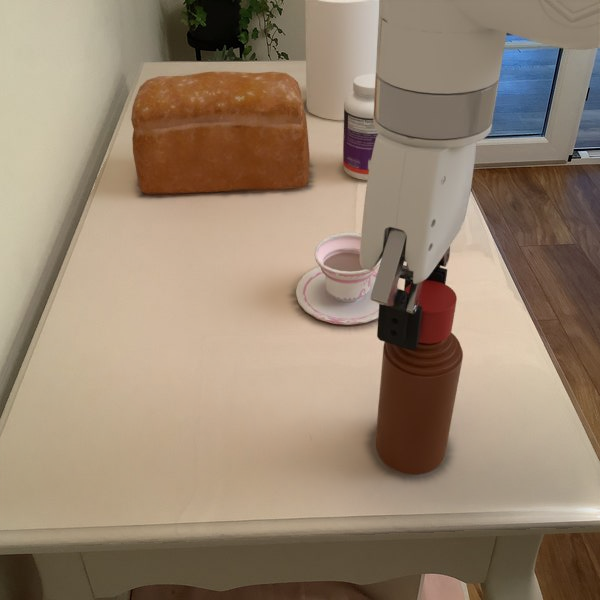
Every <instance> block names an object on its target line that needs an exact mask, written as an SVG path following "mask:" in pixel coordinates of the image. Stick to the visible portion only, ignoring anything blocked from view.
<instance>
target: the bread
mask: <svg viewBox="0 0 600 600" xmlns="http://www.w3.org/2000/svg"><path fill="white" fill-rule="evenodd" d="M300 88H301V87H300V85H299V82H298V80H296V79H295V78H294V77H293V76H292V75H290V74H289V73H287V72H280V71H263V72H244V71H243V72H242V71H204V72H197V73H191V74H185V75H162V76H157V77H153V78H150V79H146V80H145V82H144V83H142V84H141V85H140V86H139V89H138V91H137V94H136V95H135V98H134V101H133V105H132V108H131V110H132V111H131V117H130V121H131V125H132V128H133V131H132V137H131V138H132V139H131V140H132V141H131V142H132V155H133V161H134V166H135V172H136V177H137V178H136V179H137V183H138V188H139V190H140V191H141V192H142V193H143V194H146V195H157V194H158V195H160V194H161V195H162V194H163V195H165V194H166V195H169V194H172V195H173V194H191V193H192V194H193V193H194V194H195V193H218V192H219V193H220V192H231V191H242V190H243V191H244V190H246V191H247V190H249V191H252V190H255V191H257V190H259V191H261V190H281V189H294V188H303V187H305V186H307V185H309V183H310V145H309V144H310V143H309V132H308V121H307V115H306V111H305V108H304V100H303V98H302V91H301V89H300Z"/></svg>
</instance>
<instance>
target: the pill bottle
mask: <svg viewBox="0 0 600 600" xmlns="http://www.w3.org/2000/svg"><path fill="white" fill-rule="evenodd" d="M375 78H376V74H366V75H361V76H358V77H356V78H355V79H354V81H353V91H354V92H353V93H351V94H350V95H349V96H348V97H347V98H346V100H345V102H344V120H343V136H342V137H343V138H342V139H343V140H342V141H343V142H342V167H343V171H345V173H346V174H347V175H349V176H350V177H352V178H355V179H358V180H364V181H367V180H368V174H369V168H370V163H371V158H372V153H373V148H374V144H375V140H376V137H377V135H378V133H379V132H378V131H377V130H376V129H375V127H374V125H373V116H374V98H375Z"/></svg>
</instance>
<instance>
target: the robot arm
mask: <svg viewBox="0 0 600 600" xmlns="http://www.w3.org/2000/svg"><path fill="white" fill-rule="evenodd" d="M507 34H509V35H512V36H515V37H519V38H522V39H525V40H529V41H531V42H535V43H539V44H543V45H546V46H551V47H554V48H559V49H566V50H575V51H576V50H581V51H583V50H594V49H600V0H379V19H378V39H377V59H376V78H375V98H374V116H373V125H374V127H375V129H376V130H377V131H378V132H379V133H378V135H377V137H376V140H375V144H374V148H373V153H372V158H371V163H370V168H369V174H368V180H366V181H367V182H366V189H365V195H364V204H363V215H362V222H361V223H362V224H361V233H360V234H361V244H360V265H361V267H362V268H363V269H365V270H367V269H368V270H371V271H372V270H373V268H374V267H375V266H376V265H377V263H378V262H379V261H380V260H381V263H380V265H379V266H378V268H377V270H378V273H377V276H376V280H375V283H374V286H373V290H372V293H371V301H374V302H378V304H379V315H378V319H377V329H376V330H377V331H376V338H377V339H378V340H379V341H381V342H387V343H390V344H393V345H396V346H399V347H402V348H405V349H408V350H411V351H414V350H416V348H417V346H418V344H419V336H420V327H421V319H422V311H423V307H421V306H419V305H418V304H419V299H420V294H421V289H422V284H423V281H424V280H430V281H437V282H440V283H443V284H445V285H447V283H446V282H447V275H448V268H446V267H447V265H448V263H449V260H450V256H451V245H452V244H453V242H454V241H455V239H456V238H457V236H458V234H459V233H460V231H461V229H462V227H463V224H464V222H465V220H466V216H467V212H468V206H469V201H470V197H471V191H472V185H473V184H472V183H473V177H474V170H475V169H474V168H475V161H476V150H477V142H480V141H482V140H484V139H485V138H487V137H488V136H489V135H490V133H491V131H492V127H493V120H494V114H495V109H496V102H497V97H498V91H499V85H500V84H499V83H500V78H501V77H500V76H501V70H502V64H503V57H504V51H505V44H506V39H507ZM381 258H382V259H381ZM404 263H406V265H405V264H404ZM400 279H401V280H404V286H403V287H404V288H403V289H400V288H398V285H399V280H400ZM410 284H411V286H410V291H409V294H408V293H407V292H406V291H405V289H406V288H407V286H409V285H410Z"/></svg>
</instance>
